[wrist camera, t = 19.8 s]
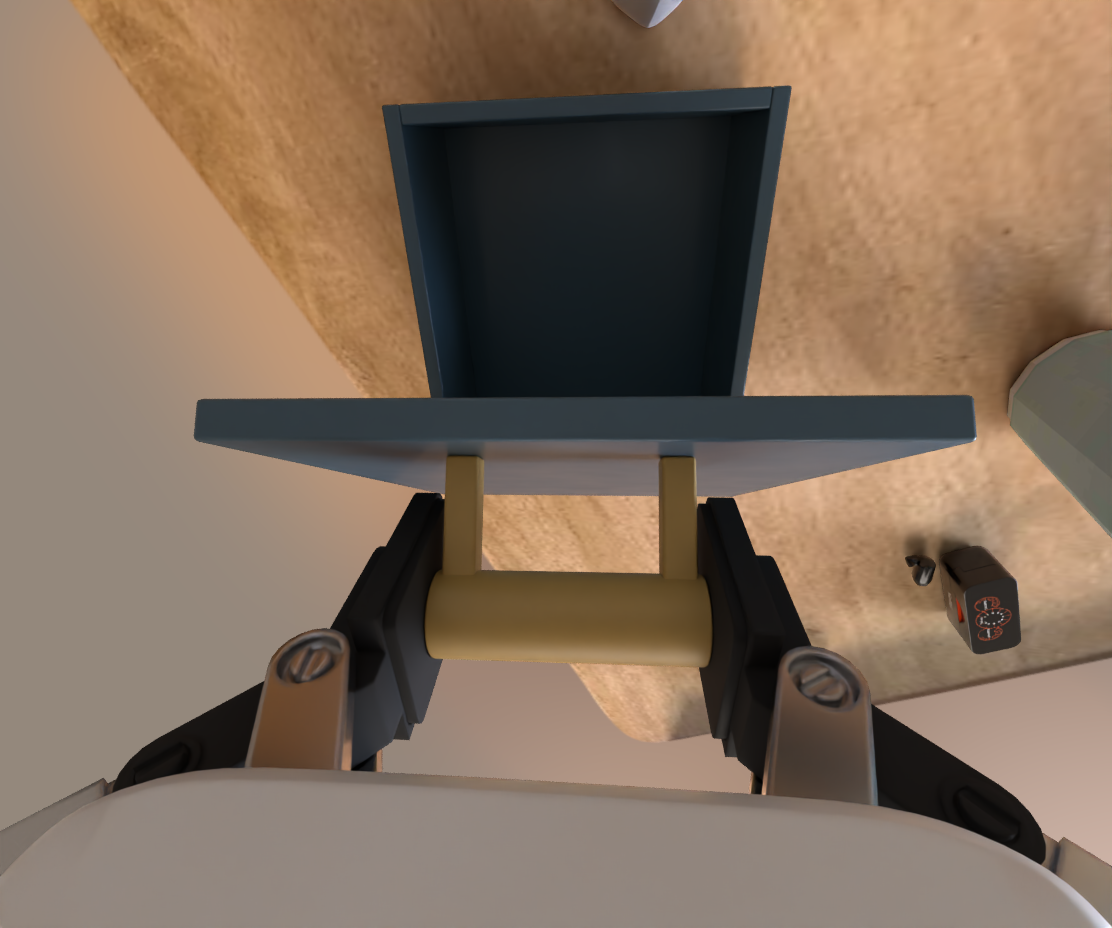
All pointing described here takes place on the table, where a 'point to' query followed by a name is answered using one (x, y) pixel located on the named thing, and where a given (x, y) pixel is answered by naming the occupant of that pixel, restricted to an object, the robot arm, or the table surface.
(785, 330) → the table surface
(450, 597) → the lid
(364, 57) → the table surface
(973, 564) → the wireless earbuds
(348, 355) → the table surface
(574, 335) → the chest
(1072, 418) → the disposable coffee cup
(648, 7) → the eye dropper bottle
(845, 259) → the table surface
